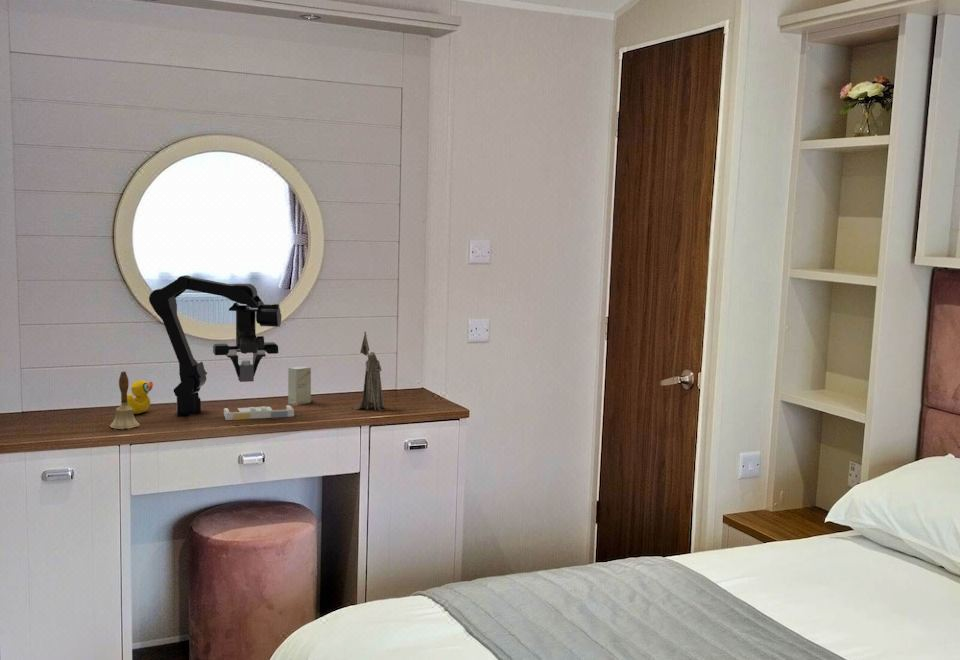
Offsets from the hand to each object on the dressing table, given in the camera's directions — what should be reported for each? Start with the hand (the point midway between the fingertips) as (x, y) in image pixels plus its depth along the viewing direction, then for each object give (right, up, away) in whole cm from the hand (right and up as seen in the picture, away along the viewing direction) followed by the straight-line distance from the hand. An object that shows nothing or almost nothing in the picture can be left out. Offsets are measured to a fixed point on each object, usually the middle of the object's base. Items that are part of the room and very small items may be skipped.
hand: (245, 376), depth 287 cm
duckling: (-33, -11, +1) cm, 35 cm away
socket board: (+4, -12, -2) cm, 13 cm away
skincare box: (+13, -10, +19) cm, 25 cm away
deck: (+1, -11, +7) cm, 13 cm away
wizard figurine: (+36, -11, +14) cm, 40 cm away
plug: (0, -1, 0) cm, 1 cm away
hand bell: (-30, -14, -17) cm, 37 cm away
